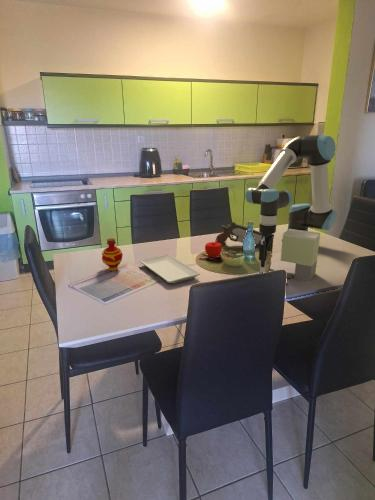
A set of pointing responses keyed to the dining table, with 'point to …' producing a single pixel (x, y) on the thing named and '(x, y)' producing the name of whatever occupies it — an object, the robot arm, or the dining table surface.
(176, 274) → the tray
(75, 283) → the dining table surface
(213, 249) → the apple
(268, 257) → the blade tool
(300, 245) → the pale green stepped block
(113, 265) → the red yellow vase
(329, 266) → the dining table surface
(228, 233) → the gun
